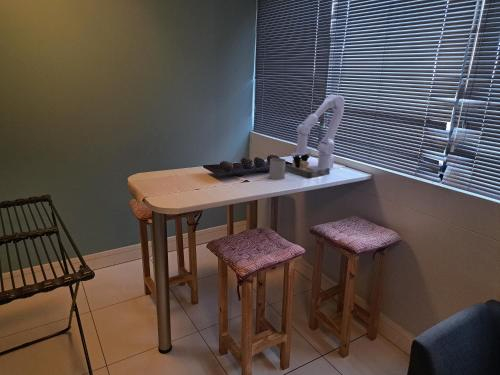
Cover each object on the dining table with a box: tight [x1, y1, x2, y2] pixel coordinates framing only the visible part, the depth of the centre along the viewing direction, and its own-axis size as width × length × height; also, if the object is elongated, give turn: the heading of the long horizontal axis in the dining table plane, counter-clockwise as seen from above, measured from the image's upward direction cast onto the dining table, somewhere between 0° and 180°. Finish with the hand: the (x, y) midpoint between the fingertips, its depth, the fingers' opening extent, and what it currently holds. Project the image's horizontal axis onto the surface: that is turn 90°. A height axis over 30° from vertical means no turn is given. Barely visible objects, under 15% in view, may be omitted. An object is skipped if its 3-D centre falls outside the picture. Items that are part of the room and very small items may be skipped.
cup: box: [268, 157, 286, 181], centre depth 188 cm, size 8×8×10 cm
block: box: [291, 159, 310, 170], centre depth 206 cm, size 4×9×5 cm, turn 38°
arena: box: [285, 163, 331, 179], centre depth 201 cm, size 17×23×4 cm
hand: (300, 167), depth 206 cm, fingers closed on block, 4 cm apart
